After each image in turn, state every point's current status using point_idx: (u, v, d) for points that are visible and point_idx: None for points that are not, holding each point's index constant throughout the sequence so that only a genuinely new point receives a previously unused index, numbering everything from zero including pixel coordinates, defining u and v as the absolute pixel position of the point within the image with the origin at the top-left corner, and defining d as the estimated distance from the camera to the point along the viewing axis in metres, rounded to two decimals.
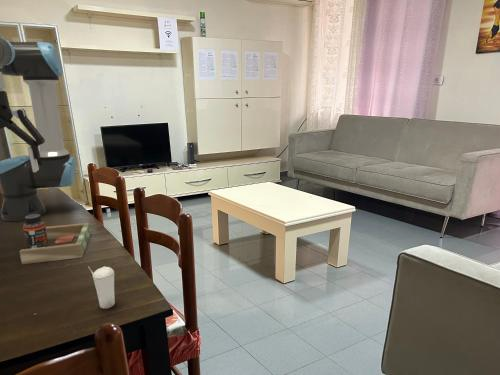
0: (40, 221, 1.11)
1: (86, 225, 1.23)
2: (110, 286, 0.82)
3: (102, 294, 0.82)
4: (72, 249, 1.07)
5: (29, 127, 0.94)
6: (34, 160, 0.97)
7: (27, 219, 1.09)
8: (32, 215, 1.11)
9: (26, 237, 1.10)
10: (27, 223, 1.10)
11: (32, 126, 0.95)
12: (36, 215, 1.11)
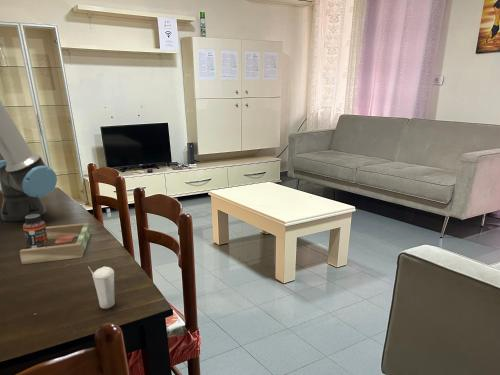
0: (40, 221, 1.11)
1: (86, 225, 1.23)
2: (110, 286, 0.82)
3: (102, 294, 0.82)
4: (72, 249, 1.07)
5: None
6: None
7: (27, 219, 1.09)
8: (32, 215, 1.11)
9: (26, 237, 1.10)
10: (27, 223, 1.10)
11: None
12: (36, 215, 1.11)
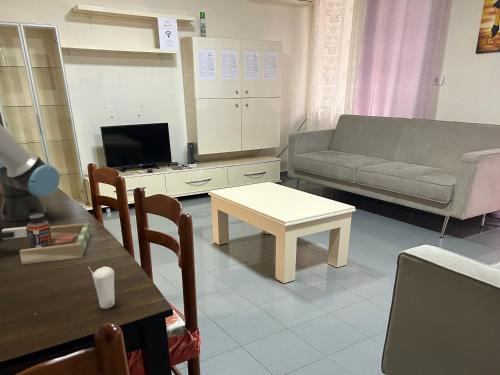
0: (44, 221, 1.12)
1: (86, 225, 1.23)
2: (110, 286, 0.82)
3: (102, 294, 0.82)
4: (72, 249, 1.07)
5: None
6: (15, 235, 1.10)
7: (31, 219, 1.09)
8: (37, 215, 1.11)
9: (30, 237, 1.10)
10: (31, 223, 1.10)
11: None
12: (40, 215, 1.12)
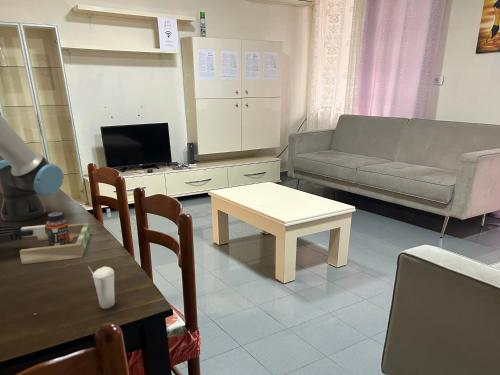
0: (62, 219, 1.13)
1: (86, 225, 1.23)
2: (110, 286, 0.82)
3: (102, 294, 0.82)
4: (72, 249, 1.07)
5: None
6: (34, 233, 1.11)
7: (50, 217, 1.11)
8: (55, 213, 1.13)
9: (49, 235, 1.11)
10: (50, 221, 1.11)
11: None
12: (58, 213, 1.13)
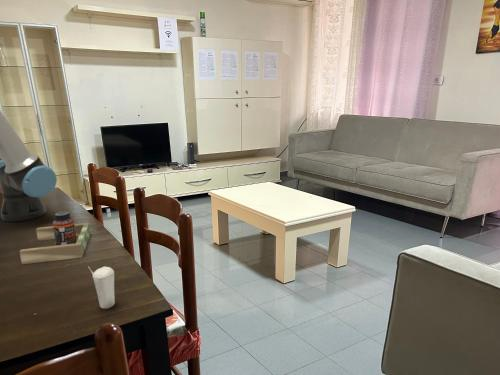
0: (69, 218, 1.14)
1: (86, 225, 1.23)
2: (110, 286, 0.82)
3: (102, 294, 0.82)
4: (72, 249, 1.07)
5: None
6: None
7: (57, 216, 1.11)
8: (62, 212, 1.13)
9: (56, 234, 1.12)
10: (57, 220, 1.12)
11: None
12: (65, 212, 1.13)
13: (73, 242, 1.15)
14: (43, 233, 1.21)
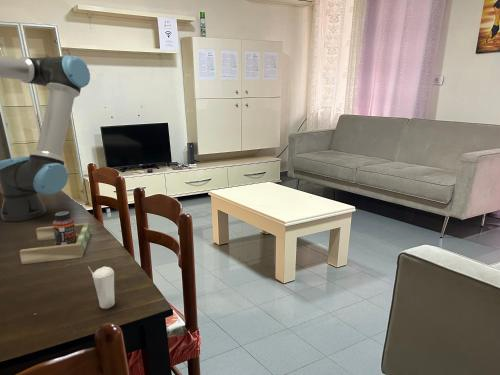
0: (69, 218, 1.14)
1: (86, 225, 1.23)
2: (110, 286, 0.82)
3: (102, 294, 0.82)
4: (72, 249, 1.07)
5: None
6: None
7: (57, 216, 1.11)
8: (62, 212, 1.13)
9: (56, 234, 1.12)
10: (57, 220, 1.12)
11: None
12: (65, 212, 1.13)
13: (73, 242, 1.15)
14: (43, 233, 1.21)
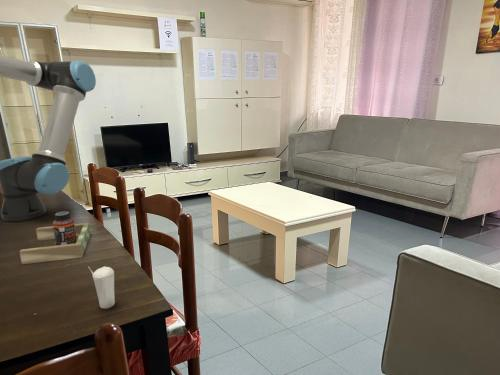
0: (69, 218, 1.14)
1: (86, 225, 1.23)
2: (110, 286, 0.82)
3: (102, 294, 0.82)
4: (72, 249, 1.07)
5: None
6: None
7: (57, 216, 1.11)
8: (62, 212, 1.13)
9: (56, 234, 1.12)
10: (57, 220, 1.12)
11: None
12: (65, 212, 1.13)
13: (73, 242, 1.15)
14: (43, 233, 1.21)
